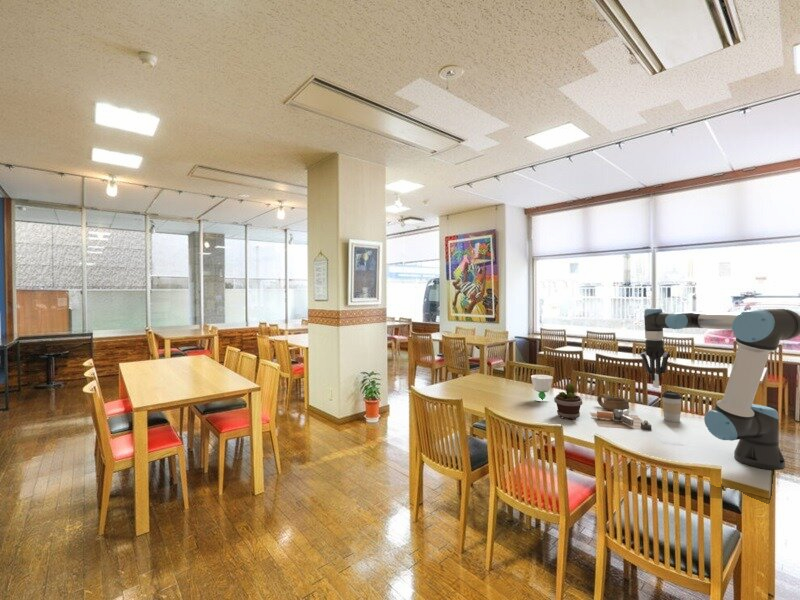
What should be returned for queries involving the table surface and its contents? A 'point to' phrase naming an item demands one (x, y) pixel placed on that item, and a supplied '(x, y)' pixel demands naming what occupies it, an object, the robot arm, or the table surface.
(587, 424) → the table surface
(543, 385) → the cup
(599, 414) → the grey cross-shaped piece
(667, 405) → the coffee cup
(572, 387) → the flowerpot
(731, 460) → the table surface
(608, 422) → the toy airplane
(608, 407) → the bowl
